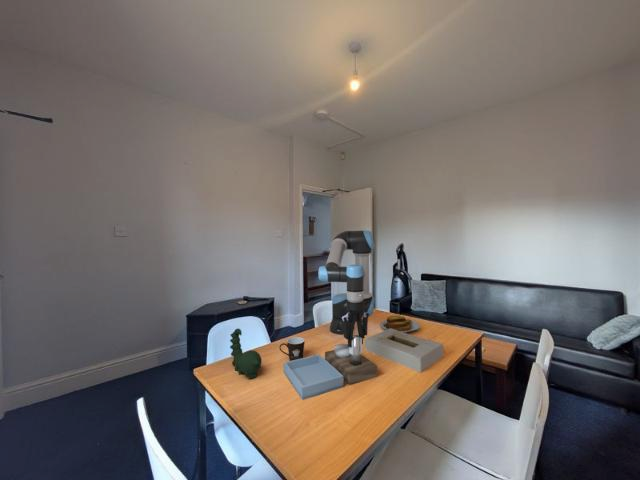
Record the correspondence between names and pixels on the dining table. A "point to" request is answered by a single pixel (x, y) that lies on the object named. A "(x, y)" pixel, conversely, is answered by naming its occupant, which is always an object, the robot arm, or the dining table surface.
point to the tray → (312, 376)
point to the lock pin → (356, 351)
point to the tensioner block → (350, 365)
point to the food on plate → (400, 324)
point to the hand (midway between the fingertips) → (355, 352)
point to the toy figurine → (244, 357)
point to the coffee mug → (294, 348)
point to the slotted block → (405, 349)
